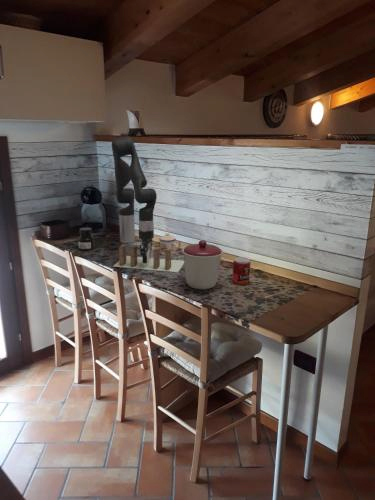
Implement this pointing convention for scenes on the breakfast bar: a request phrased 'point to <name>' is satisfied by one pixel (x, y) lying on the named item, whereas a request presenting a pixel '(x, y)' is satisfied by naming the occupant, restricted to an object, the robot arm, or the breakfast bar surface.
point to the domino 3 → (147, 259)
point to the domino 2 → (133, 255)
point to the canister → (202, 264)
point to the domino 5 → (167, 258)
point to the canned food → (241, 270)
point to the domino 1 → (122, 255)
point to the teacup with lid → (167, 244)
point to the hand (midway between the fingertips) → (146, 261)
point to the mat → (175, 264)
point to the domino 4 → (156, 257)
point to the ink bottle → (86, 239)
